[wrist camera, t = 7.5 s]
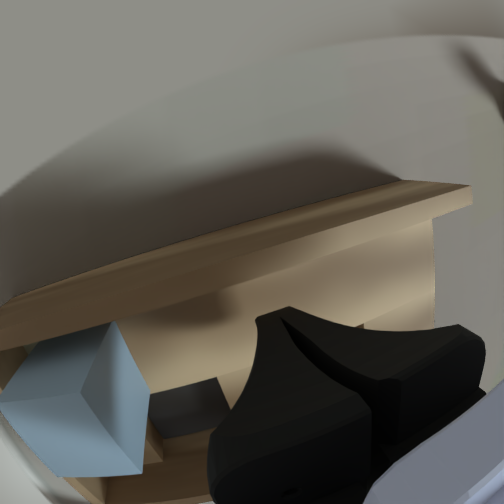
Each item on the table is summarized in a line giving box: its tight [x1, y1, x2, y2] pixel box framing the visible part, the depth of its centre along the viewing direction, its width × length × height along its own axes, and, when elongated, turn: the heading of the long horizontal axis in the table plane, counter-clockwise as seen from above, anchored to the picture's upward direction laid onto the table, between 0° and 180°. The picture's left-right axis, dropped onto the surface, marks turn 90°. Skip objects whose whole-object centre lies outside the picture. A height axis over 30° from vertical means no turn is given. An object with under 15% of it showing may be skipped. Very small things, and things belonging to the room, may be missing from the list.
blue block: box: [0, 321, 150, 477], centre depth 9 cm, size 4×4×5 cm
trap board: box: [0, 180, 473, 504], centre depth 13 cm, size 12×22×5 cm, turn 104°
